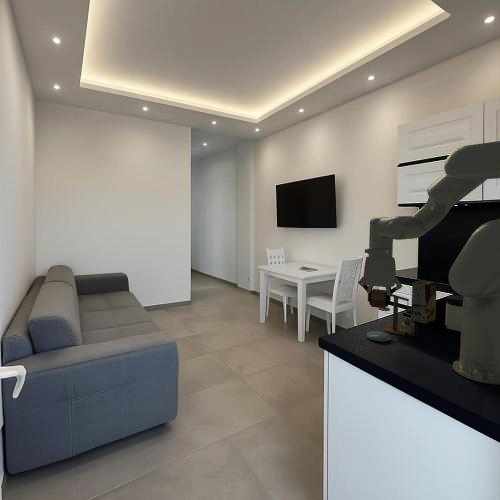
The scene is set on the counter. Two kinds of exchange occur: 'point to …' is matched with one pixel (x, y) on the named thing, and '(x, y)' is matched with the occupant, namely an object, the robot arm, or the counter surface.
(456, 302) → the jar
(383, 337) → the dish
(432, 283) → the coffee box
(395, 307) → the balance
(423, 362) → the counter surface
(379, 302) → the block
